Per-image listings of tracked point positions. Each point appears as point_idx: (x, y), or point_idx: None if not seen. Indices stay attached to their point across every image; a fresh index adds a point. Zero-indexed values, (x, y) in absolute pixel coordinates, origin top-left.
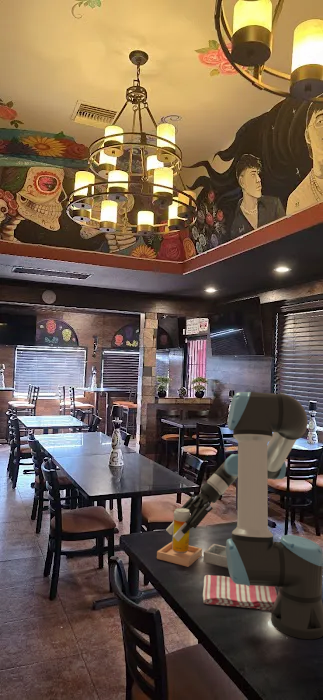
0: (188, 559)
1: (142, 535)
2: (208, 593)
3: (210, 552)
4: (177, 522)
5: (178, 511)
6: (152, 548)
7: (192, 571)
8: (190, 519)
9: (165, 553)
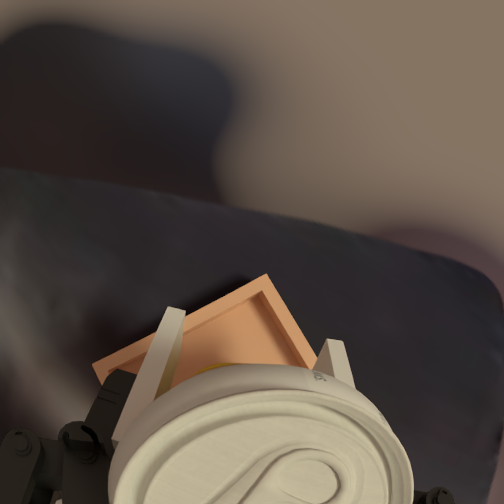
0: (94, 365)
1: (492, 355)
2: None
3: None
4: (200, 372)
5: (254, 433)
6: (377, 331)
7: (60, 346)
8: (70, 492)
9: (222, 301)
